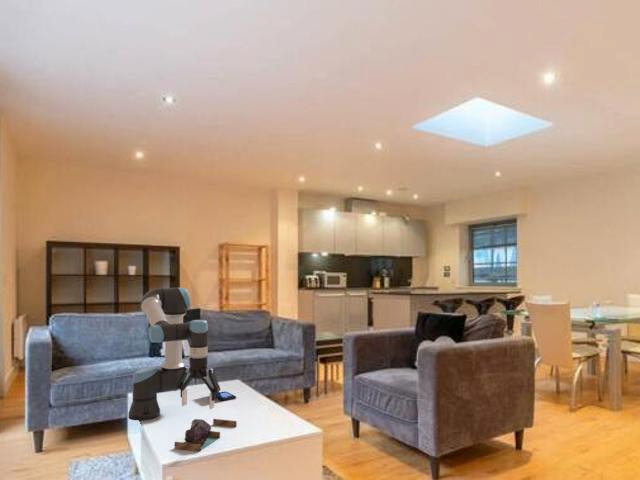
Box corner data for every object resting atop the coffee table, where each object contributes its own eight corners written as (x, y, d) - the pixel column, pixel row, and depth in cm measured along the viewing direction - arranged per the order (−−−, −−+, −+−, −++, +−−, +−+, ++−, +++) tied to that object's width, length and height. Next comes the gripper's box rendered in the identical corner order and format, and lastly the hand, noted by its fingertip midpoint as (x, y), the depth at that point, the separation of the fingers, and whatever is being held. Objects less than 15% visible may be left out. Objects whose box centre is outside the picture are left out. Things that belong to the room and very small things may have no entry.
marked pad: (177, 447, 187) (177, 446, 187) (194, 436, 199) (194, 435, 199) (201, 450, 184) (201, 449, 184) (217, 439, 196) (217, 438, 196)
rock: (191, 452, 184) (214, 445, 190) (192, 432, 183) (215, 426, 189) (182, 439, 194) (204, 433, 199) (182, 419, 193) (205, 414, 199)
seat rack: (174, 448, 186) (174, 442, 186) (214, 424, 215) (214, 418, 215) (199, 451, 182) (199, 445, 182) (236, 426, 211) (236, 421, 211)
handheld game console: (237, 399, 258) (237, 382, 258) (215, 403, 250) (215, 386, 251) (225, 393, 270) (225, 377, 271) (204, 397, 263) (204, 381, 263)
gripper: (168, 356, 194) (167, 406, 193) (219, 360, 186) (219, 412, 185) (179, 353, 201) (178, 401, 200) (228, 356, 194) (228, 406, 192)
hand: (198, 406), depth 193 cm, fingers open, 13 cm apart
